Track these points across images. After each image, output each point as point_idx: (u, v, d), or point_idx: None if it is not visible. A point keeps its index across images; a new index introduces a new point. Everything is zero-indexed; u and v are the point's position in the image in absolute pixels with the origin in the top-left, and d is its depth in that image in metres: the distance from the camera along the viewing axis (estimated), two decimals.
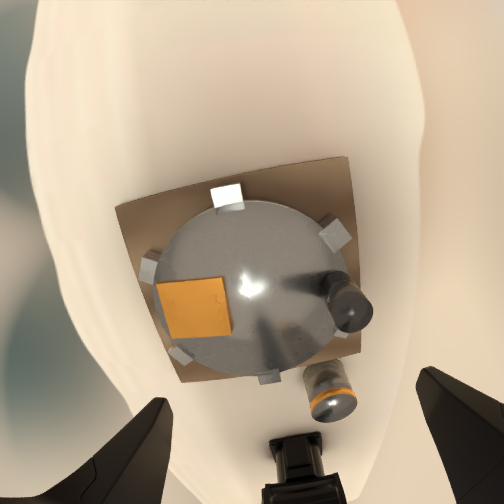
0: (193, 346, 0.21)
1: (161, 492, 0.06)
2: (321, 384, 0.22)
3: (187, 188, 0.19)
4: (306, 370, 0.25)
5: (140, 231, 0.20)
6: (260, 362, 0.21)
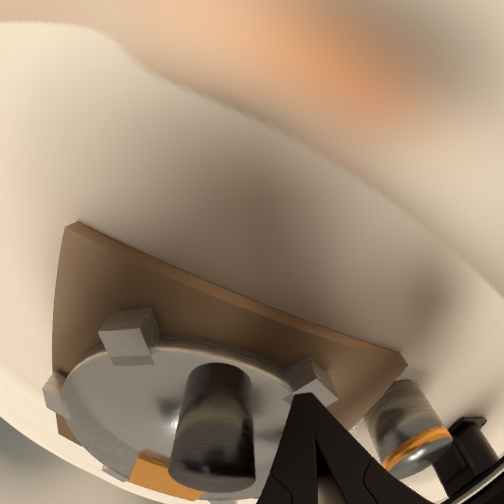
0: (216, 495, 0.13)
1: None
2: (380, 446, 0.11)
3: None
4: None
5: None
6: None
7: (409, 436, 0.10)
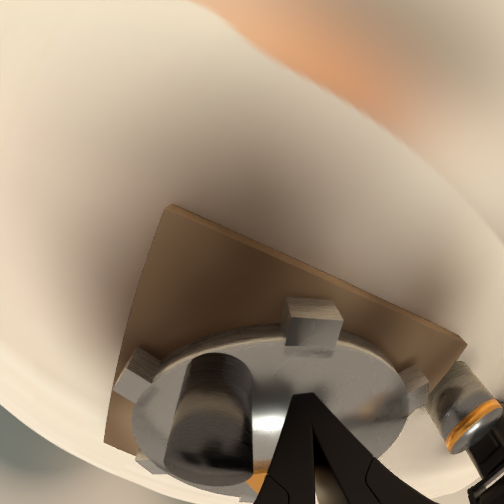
0: None
1: None
2: (444, 422, 0.11)
3: (111, 401, 0.13)
4: None
5: (136, 446, 0.14)
6: (382, 419, 0.11)
7: (471, 408, 0.10)
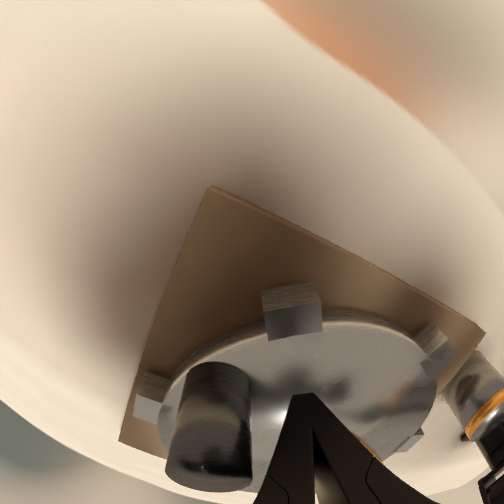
0: (392, 445, 0.12)
1: None
2: (464, 410, 0.11)
3: (131, 397, 0.12)
4: (441, 392, 0.14)
5: (154, 444, 0.14)
6: (408, 389, 0.10)
7: (491, 395, 0.10)
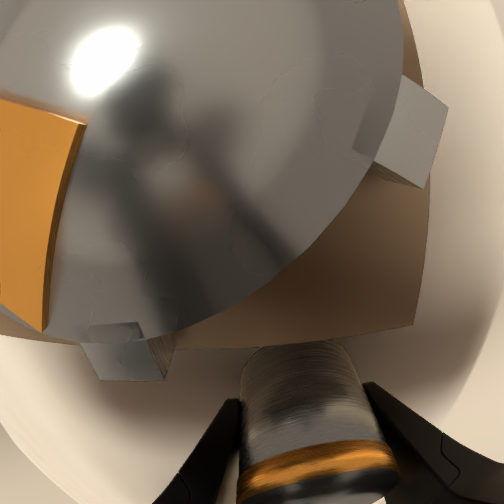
0: (90, 300, 0.05)
1: None
2: (284, 421, 0.06)
3: None
4: (247, 367, 0.09)
5: None
6: (305, 96, 0.04)
7: (367, 435, 0.05)
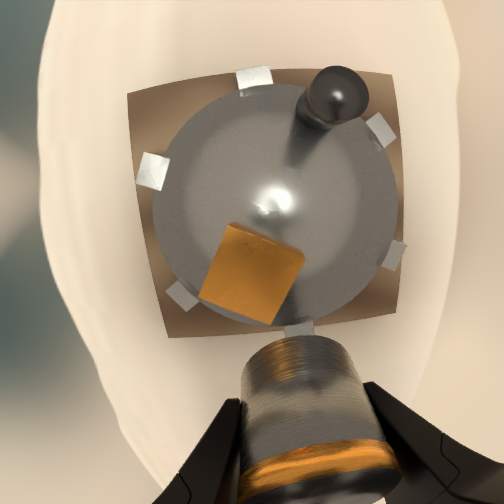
0: (296, 309, 0.17)
1: None
2: (285, 421, 0.06)
3: (217, 76, 0.14)
4: (248, 367, 0.09)
5: (151, 121, 0.15)
6: (365, 251, 0.16)
7: (369, 435, 0.05)
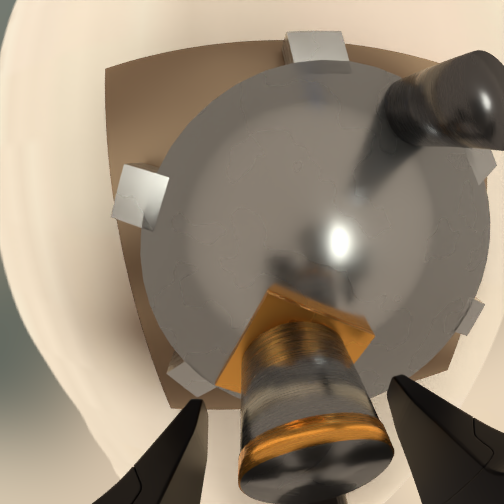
0: None
1: (200, 496, 0.06)
2: (283, 397, 0.06)
3: (250, 43, 0.08)
4: (248, 351, 0.09)
5: (141, 110, 0.09)
6: (443, 317, 0.10)
7: (360, 410, 0.06)
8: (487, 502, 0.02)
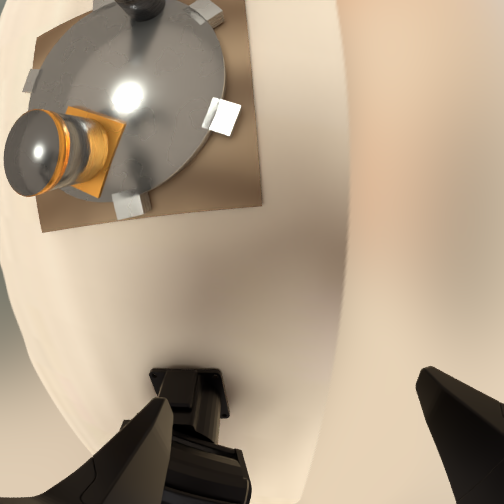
0: (121, 181, 0.15)
1: (161, 492, 0.06)
2: None
3: (92, 10, 0.12)
4: None
5: (46, 51, 0.13)
6: (187, 113, 0.14)
7: (55, 112, 0.09)
8: None
